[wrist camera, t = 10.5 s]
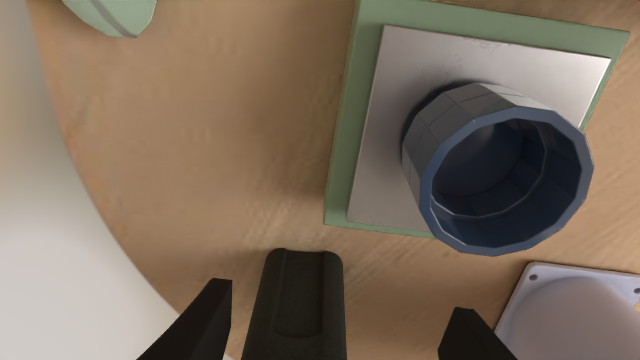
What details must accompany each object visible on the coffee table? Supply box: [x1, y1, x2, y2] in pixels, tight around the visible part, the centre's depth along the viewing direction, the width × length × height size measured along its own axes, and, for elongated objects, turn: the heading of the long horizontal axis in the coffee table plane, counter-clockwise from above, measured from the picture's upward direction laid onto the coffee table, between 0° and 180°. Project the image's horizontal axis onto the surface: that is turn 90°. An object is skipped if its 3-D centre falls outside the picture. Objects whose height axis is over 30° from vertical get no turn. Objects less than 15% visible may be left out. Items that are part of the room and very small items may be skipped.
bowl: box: [402, 83, 594, 257], centre depth 14 cm, size 6×6×4 cm
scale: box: [323, 0, 630, 250], centre depth 18 cm, size 11×12×3 cm
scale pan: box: [345, 23, 611, 232], centre depth 16 cm, size 9×9×1 cm
